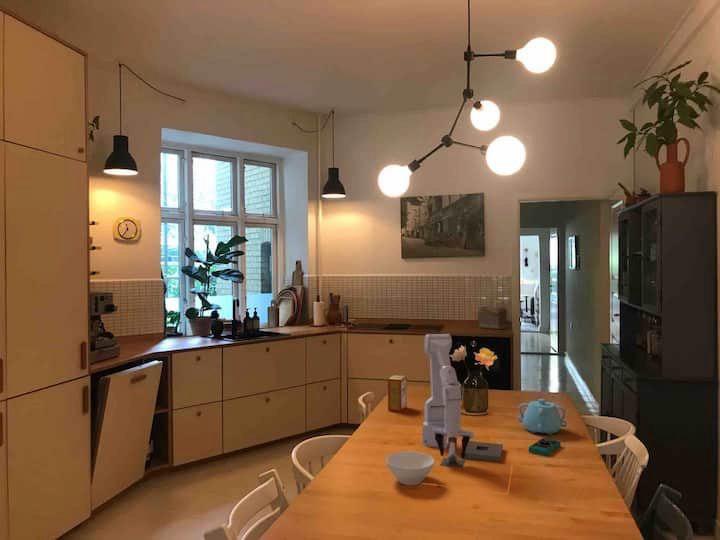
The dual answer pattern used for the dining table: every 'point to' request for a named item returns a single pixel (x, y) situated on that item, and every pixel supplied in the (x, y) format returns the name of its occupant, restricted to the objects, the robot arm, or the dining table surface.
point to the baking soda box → (396, 393)
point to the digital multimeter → (544, 446)
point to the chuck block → (483, 451)
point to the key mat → (445, 463)
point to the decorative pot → (542, 417)
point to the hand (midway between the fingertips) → (452, 456)
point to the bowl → (410, 466)
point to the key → (452, 450)
